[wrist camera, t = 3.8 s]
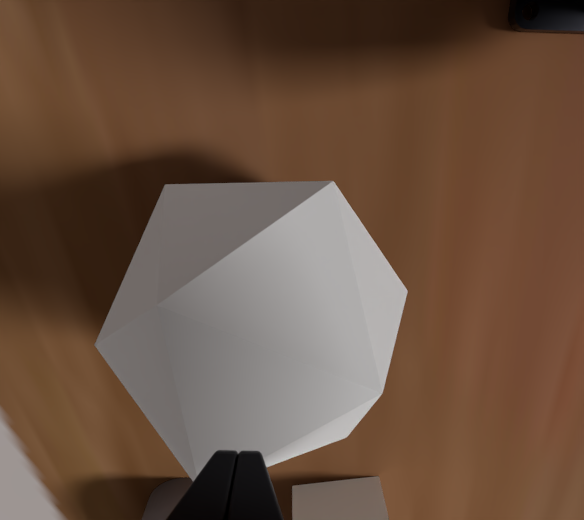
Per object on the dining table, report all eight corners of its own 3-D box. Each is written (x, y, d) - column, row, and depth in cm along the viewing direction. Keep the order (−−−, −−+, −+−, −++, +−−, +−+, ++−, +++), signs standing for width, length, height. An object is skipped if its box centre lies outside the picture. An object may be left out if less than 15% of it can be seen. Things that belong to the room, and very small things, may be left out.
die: (145, 153, 16) (-35, 417, 10) (353, 53, 10) (213, 482, 5) (271, 277, 21) (196, 495, 15) (451, 251, 16) (435, 566, 10)
